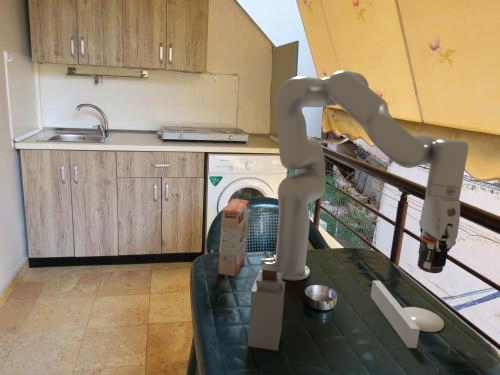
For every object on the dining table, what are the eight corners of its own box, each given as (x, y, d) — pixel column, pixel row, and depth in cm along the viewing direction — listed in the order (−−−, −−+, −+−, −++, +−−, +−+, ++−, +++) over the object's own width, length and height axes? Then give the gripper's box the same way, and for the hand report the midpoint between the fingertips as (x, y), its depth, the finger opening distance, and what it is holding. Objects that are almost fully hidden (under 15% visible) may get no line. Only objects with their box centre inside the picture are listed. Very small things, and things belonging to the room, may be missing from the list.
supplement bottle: (430, 275, 100) (438, 231, 97) (411, 265, 105) (418, 223, 103) (447, 272, 102) (455, 229, 100) (429, 263, 108) (436, 222, 105)
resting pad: (409, 331, 101) (410, 330, 101) (391, 308, 112) (391, 306, 112) (452, 332, 102) (452, 330, 102) (430, 308, 113) (430, 307, 113)
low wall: (408, 348, 95) (411, 328, 94) (370, 296, 118) (372, 280, 117) (416, 348, 95) (419, 328, 94) (377, 296, 118) (379, 280, 117)
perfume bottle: (277, 350, 91) (284, 275, 87) (247, 345, 92) (252, 271, 88) (280, 333, 97) (286, 263, 93) (252, 329, 98) (257, 259, 94)
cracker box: (236, 277, 125) (240, 211, 120) (217, 274, 126) (220, 209, 121) (246, 259, 138) (250, 199, 133) (228, 257, 139) (231, 197, 134)
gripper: (480, 201, 91) (465, 275, 95) (439, 183, 108) (428, 247, 112) (447, 199, 90) (434, 275, 95) (411, 182, 107) (401, 246, 111)
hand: (431, 259), depth 103 cm, fingers closed on supplement bottle, 6 cm apart
